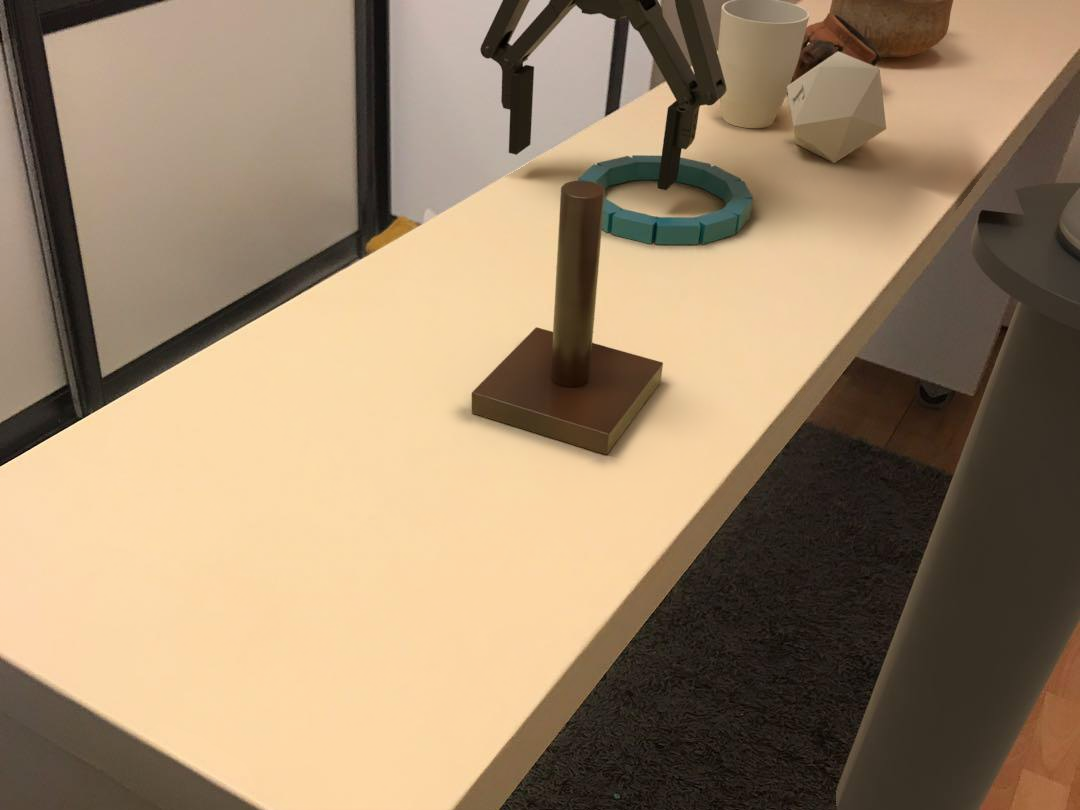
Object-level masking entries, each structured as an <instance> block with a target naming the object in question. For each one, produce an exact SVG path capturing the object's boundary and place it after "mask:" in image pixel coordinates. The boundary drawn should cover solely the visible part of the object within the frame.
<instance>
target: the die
mask: <svg viewBox="0 0 1080 810" xmlns="http://www.w3.org/2000/svg"><path fill="white" fill-rule="evenodd" d="M880 69H881V68H880V67H877V66H876V65H875V66H873V65H870V64H868V63H865V62H863V61H861V60H858V59H856V58H853V57H851V56H848V55H846V54H844V53H841V52H839V51H838V52H836V53H835V54H833V55H832V56H830V57H829V58H827V59H826V60H824V61H823V62H821V63H820V64H818V65H817V66H816V67H814V68H813V69H811V70H810V71H808V72H807V73H805V74H804V75H802V76H801V77H799V78H798V79H796V80H795V81H794V82H792V83H791V84H789V85H788V86H787V91H788V94H787V97H788V104H789V110H790V116H791V122H792V129H793V135H794V141H795V144H796V145H798V146H800V147H801V148H804V149H806V150H807V151H810V152H811V153H813V154H815V155H817V156H819V157H821V158H823V159H825V160H827V161H829V162H831V163H833V164H835V163H837V162H838V161H840V160H841V159H843V158H844V157H846V156H848V155H849V154H850V153H852V152H853V151H856V150H857V149H858V148H860V147H861V146H862V145H864V144H866V143H868V142H869V141H870V140H872V139H873V138H875V137H877V136H878V135H880V134H881V133H883V132H884V131H885V130H887V122H886V121H887V120H886V112H885V104H884V95H883V86H882V77H881V70H880Z"/></svg>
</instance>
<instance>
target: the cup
mask: <svg viewBox="0 0 1080 810" xmlns="http://www.w3.org/2000/svg"><path fill="white" fill-rule="evenodd" d="M720 11H721V12H720V13H721V14H720V23H719V35H718V46H717V47H718V48H717V54H718V58H719V62H720V65H721V69H722V73H723V76H724V80H725V84H726V93H725V94H724V95H723V96H722V97H721V98H720V99H719V103H720V105H719V106H720V111H721V118H722V120H723V121H724V122H726V123H728V124H730V125H732V126H735V127H738V128H745V129H762V128H767V127H769V126H771V125H772V124H773V123H774V122H775V119H776V118H777V116H778V114H779V111H780V109H781V107H782V106H783V103H784V101H785V100H786V97H787V96H788V94H787V92H788V91H787V86H788V85H789V84H790V83H791V80H792V77H793V75H794V72H795V69H796V66H797V63H798V60H799V56H800V52H801V48H802V43H803V39H804V35H805V31H806V27H808V22H809V19H810V13H809V11H808V10H807V9H806V8H804V7H802V6H800V5H797V4H795V3H792V2H787V1H784V0H728V1H726V2H724V3H723V4H722V5H721V10H720Z"/></svg>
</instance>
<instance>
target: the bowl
mask: <svg viewBox="0 0 1080 810" xmlns="http://www.w3.org/2000/svg"><path fill="white" fill-rule="evenodd" d="M953 4H954V0H831V4H830V8H829V11H828V13H833V14H835V15H837V16H839V17H841V18H842V19H844V20H845V21H846V22H847V23H849V24H850V25H851V26H853V27H854V28H855V29H856V30H857V31H858V32H859V33H861V34H862V35H863V36H864V37H865V38H866V39H867V40H868V41H869V42H870V43H871V44H872V45H873V46H874V47H875V48H876V49H877V50H878V52H879V53H880V55H881V57H883V58H905V57H911V56H915V55H918V54H921V53H923V52H926V51H928V50H930V49H932V48H933V47H935V46H937V45H938V44H939V43H940V42H941V41H942V40H943V39H944V38H945V37H946V35H947V33H948V30H949V27H950V20H951V13H952V8H953Z"/></svg>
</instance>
